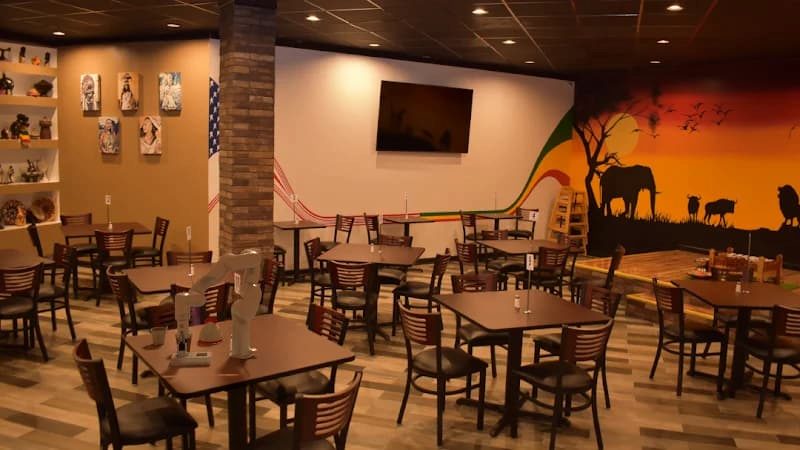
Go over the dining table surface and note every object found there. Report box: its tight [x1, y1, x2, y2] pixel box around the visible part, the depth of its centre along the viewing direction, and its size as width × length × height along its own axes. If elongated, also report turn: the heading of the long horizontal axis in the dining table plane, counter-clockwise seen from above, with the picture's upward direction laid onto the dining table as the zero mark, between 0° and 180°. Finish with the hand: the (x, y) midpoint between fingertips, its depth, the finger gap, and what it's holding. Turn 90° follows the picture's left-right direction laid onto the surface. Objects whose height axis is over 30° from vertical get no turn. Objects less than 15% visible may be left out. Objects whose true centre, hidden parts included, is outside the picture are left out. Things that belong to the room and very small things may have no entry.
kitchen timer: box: [198, 315, 224, 345], centre depth 405 cm, size 14×14×15 cm
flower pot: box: [149, 326, 168, 346], centre depth 396 cm, size 9×9×9 cm
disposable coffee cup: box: [174, 330, 193, 352], centre depth 379 cm, size 10×10×12 cm
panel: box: [170, 351, 213, 367], centre depth 362 cm, size 20×10×5 cm, turn 102°
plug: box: [176, 343, 187, 357], centre depth 360 cm, size 5×4×10 cm
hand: (182, 347), depth 360 cm, fingers open, 9 cm apart
